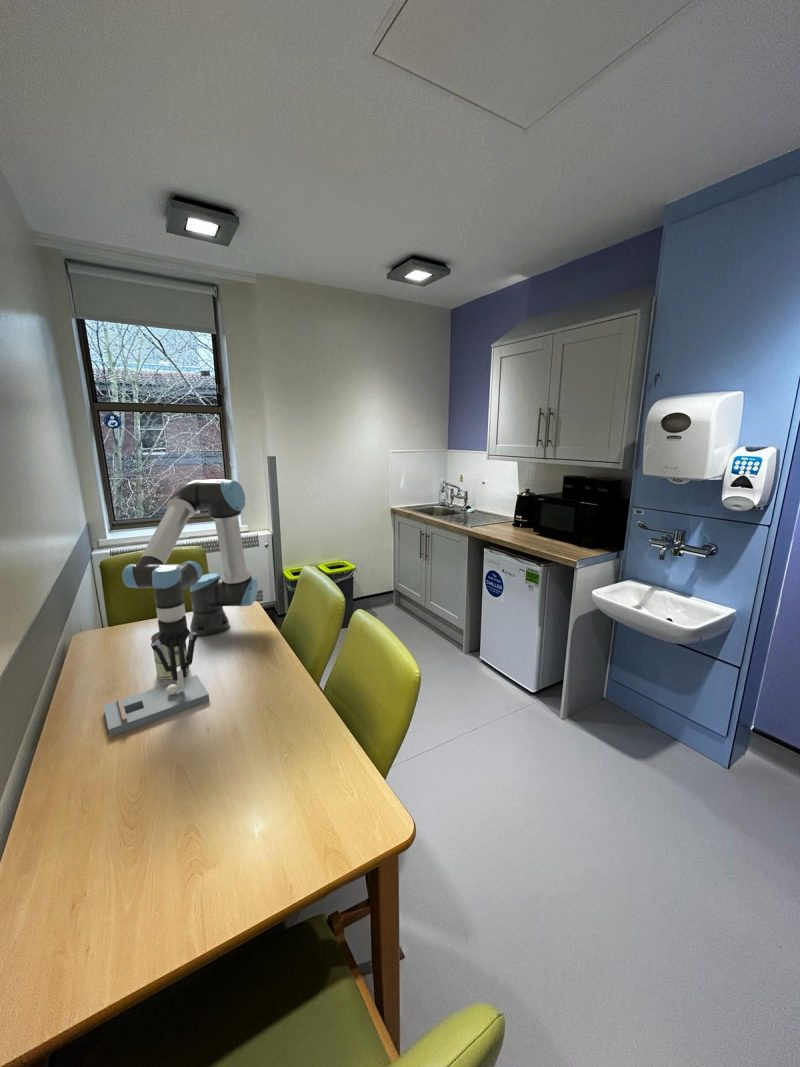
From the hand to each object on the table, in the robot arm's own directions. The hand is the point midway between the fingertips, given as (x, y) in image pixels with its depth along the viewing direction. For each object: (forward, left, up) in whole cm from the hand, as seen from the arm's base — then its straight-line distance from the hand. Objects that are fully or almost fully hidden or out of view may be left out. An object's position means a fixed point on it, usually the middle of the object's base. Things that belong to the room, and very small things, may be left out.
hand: (181, 687), depth 134 cm
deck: (+7, 0, -4) cm, 8 cm away
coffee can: (-1, -19, -4) cm, 20 cm away
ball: (+2, 0, 0) cm, 3 cm away
